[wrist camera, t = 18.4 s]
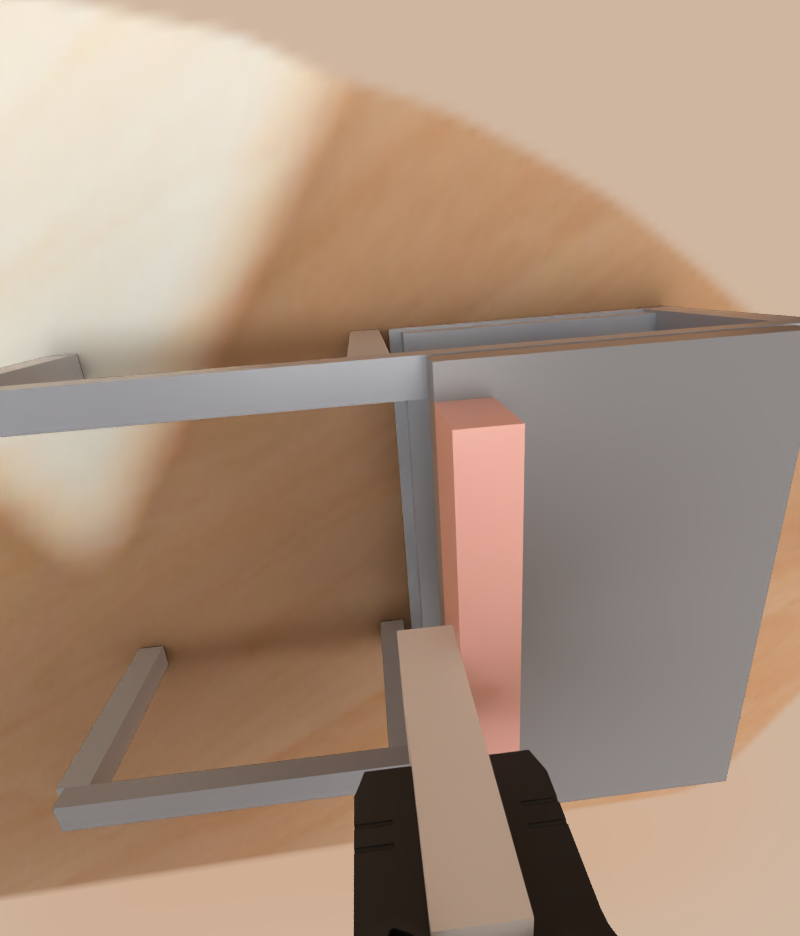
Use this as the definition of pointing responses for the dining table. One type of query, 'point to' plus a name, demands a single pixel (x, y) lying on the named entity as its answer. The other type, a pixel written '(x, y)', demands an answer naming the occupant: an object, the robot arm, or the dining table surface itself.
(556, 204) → the dining table surface
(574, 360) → the lid
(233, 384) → the grey frame rack
